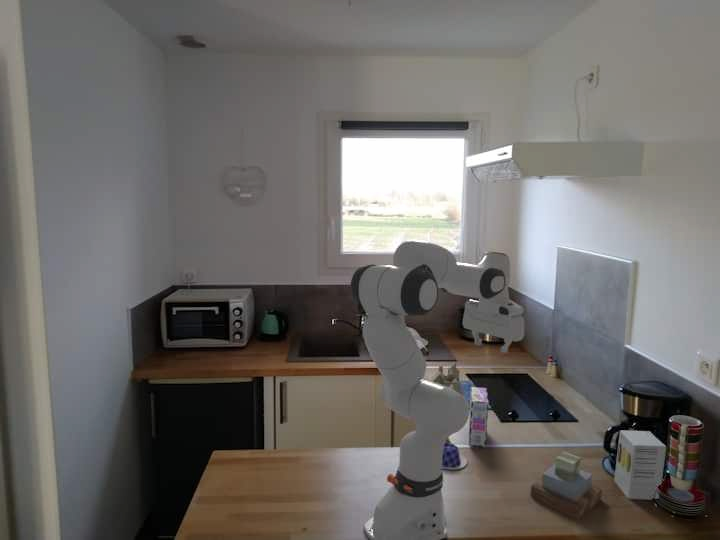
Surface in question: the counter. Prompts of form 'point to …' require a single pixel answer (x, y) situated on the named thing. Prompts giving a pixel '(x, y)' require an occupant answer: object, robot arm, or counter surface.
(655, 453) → the supplement box
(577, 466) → the sage block
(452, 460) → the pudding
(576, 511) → the walnut slab
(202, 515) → the counter surface
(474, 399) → the candy box
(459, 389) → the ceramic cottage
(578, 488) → the grey slab
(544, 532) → the counter surface
